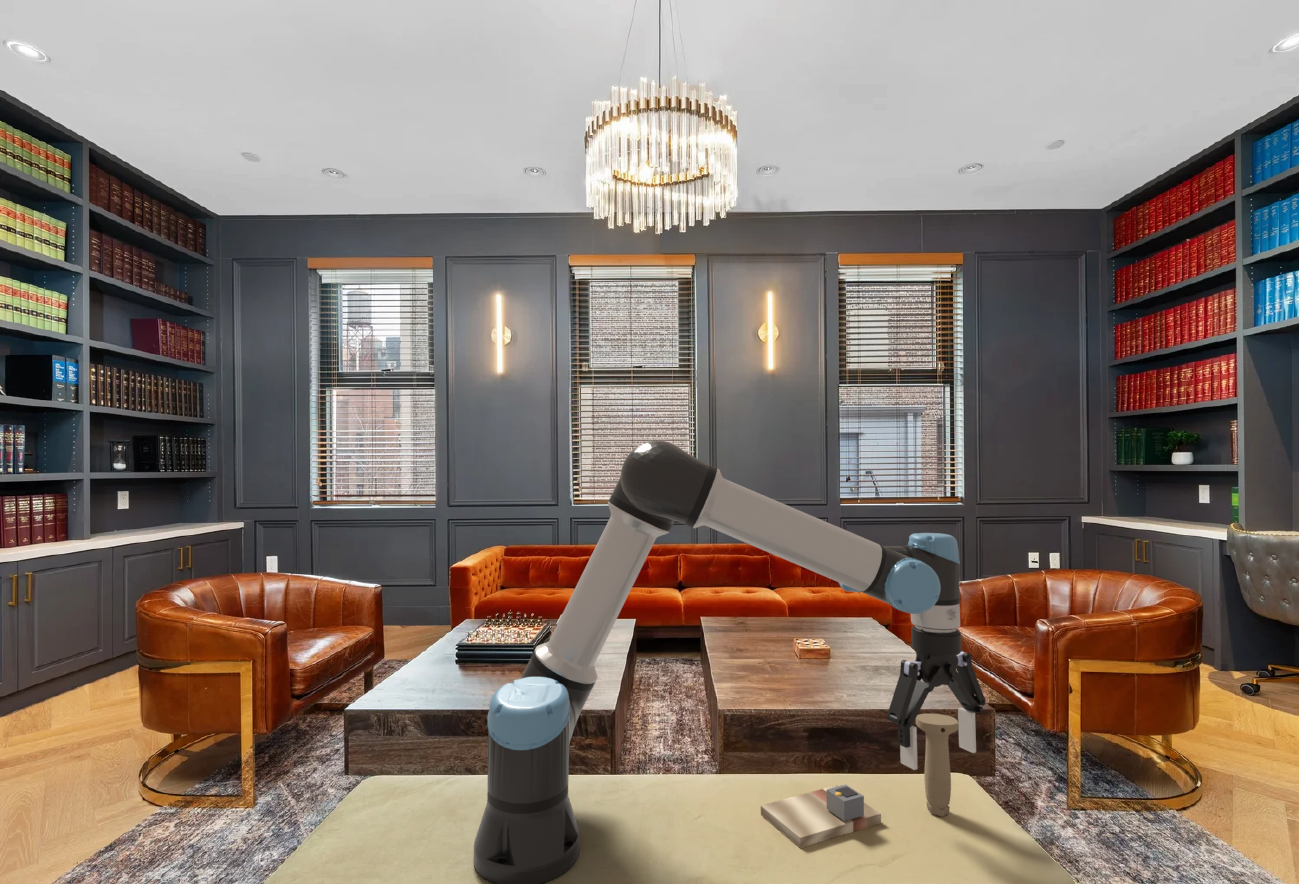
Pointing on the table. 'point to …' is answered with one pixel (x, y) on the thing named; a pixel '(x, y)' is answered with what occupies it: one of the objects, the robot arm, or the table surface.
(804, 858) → the table surface
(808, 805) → the plank
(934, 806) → the handle
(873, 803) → the table surface
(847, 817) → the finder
